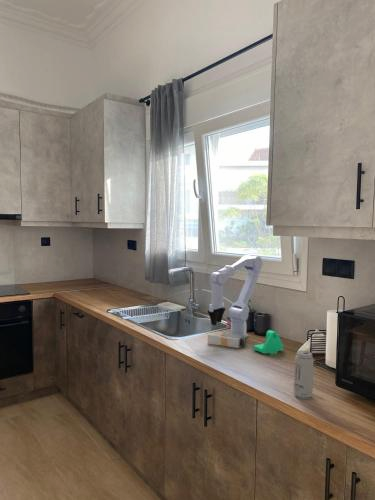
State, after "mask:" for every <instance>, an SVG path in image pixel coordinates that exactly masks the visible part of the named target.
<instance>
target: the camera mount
mask: <svg viewBox="0 0 375 500" xmlns="http://www.w3.org/2000/svg"><path fill="white" fill-rule="evenodd" d="M265 338H266V340H265V342H264V343H259V344H255V345H253V350H254V351H258V352H260V353H261V354H268V355H273V354H277V353H278V352H280V351H284V344H283V342H282V340H281V338H280V336H279V334H278V332H277V331H276V330H275V331H274V330H271V329H269V330H267V331H266V334H265Z"/></svg>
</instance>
